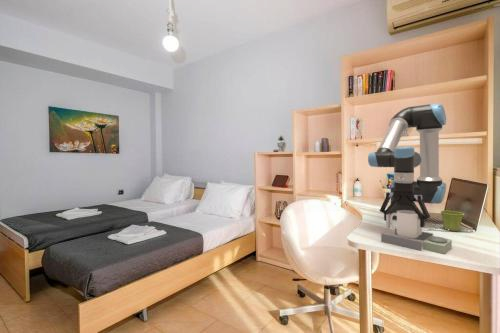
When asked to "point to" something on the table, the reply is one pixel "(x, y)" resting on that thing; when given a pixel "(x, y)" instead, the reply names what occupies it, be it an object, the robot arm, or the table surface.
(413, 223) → the cup
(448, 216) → the plant pot
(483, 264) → the table surface
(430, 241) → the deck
